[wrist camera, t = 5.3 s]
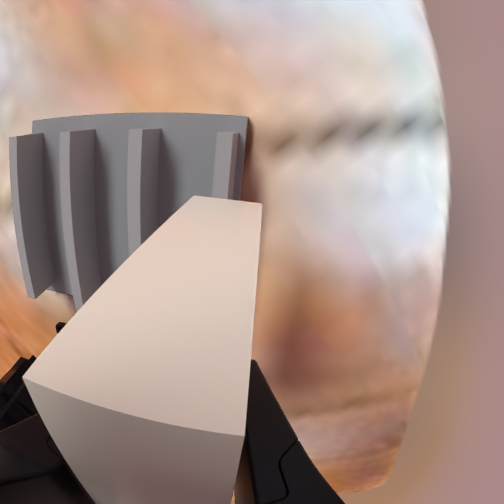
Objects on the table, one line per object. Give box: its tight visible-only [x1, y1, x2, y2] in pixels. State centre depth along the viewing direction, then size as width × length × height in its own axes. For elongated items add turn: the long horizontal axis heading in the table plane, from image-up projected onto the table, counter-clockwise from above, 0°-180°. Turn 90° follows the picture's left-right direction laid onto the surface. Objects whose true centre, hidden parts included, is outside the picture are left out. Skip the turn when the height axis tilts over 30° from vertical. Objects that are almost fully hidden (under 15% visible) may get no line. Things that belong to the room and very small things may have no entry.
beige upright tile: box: [22, 196, 262, 504], centre depth 8 cm, size 8×2×9 cm, turn 173°
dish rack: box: [9, 113, 249, 310], centre depth 19 cm, size 14×16×4 cm
